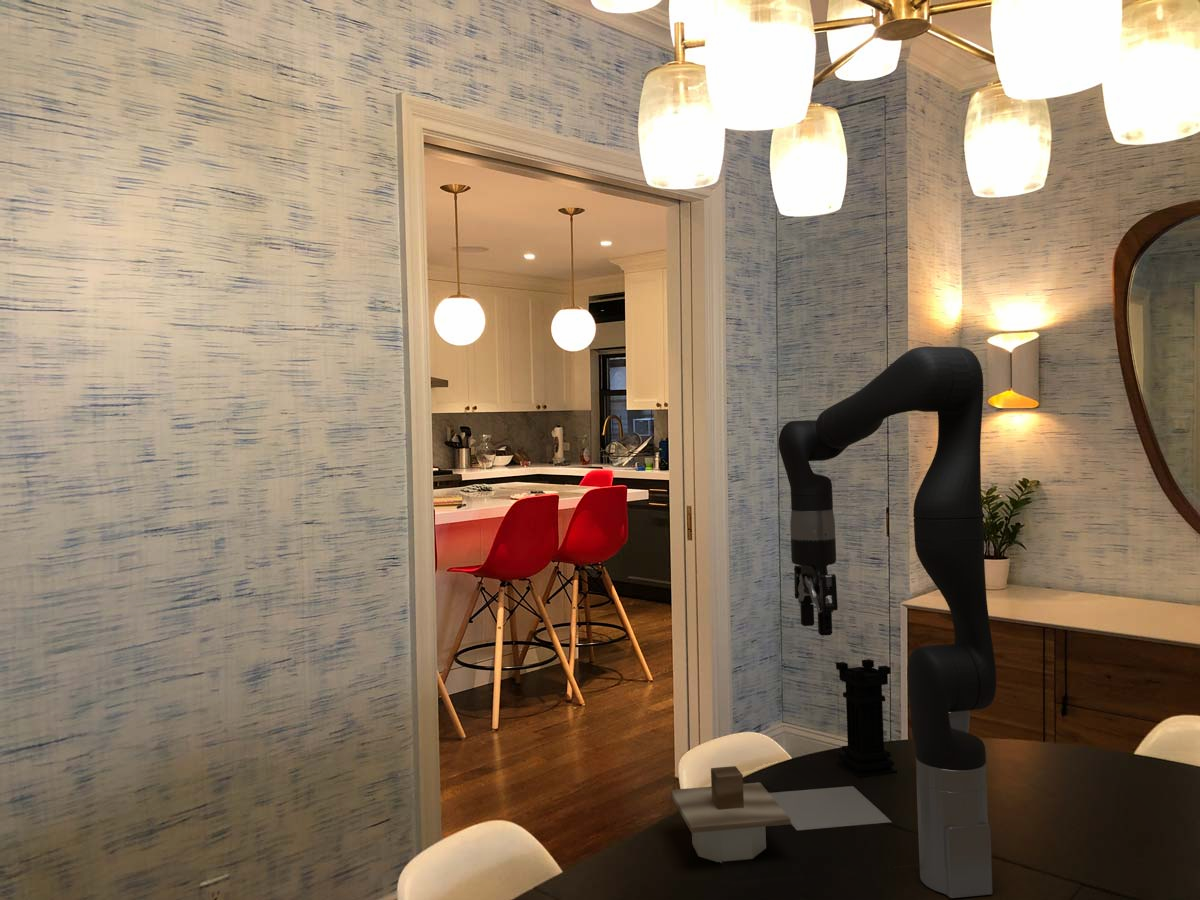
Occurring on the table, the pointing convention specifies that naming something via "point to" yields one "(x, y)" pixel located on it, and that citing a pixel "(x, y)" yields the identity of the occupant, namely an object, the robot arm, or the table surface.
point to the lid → (728, 804)
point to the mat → (828, 808)
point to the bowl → (730, 844)
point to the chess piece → (865, 720)
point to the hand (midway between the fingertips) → (816, 630)
